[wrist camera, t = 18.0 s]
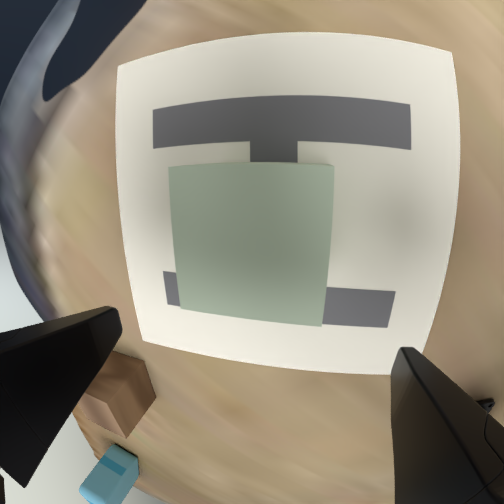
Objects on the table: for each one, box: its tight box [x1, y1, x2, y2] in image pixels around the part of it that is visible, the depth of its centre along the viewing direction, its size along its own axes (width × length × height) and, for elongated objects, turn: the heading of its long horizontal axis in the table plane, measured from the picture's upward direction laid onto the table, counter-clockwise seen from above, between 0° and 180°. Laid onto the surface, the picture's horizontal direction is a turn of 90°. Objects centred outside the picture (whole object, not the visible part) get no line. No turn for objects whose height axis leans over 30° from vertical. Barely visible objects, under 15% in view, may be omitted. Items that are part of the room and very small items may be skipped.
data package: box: [79, 444, 139, 504], centre depth 29 cm, size 12×4×12 cm, turn 163°
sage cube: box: [168, 162, 334, 327], centre depth 12 cm, size 6×6×6 cm
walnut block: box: [78, 351, 156, 439], centre depth 21 cm, size 5×5×6 cm
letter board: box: [116, 32, 460, 374], centre depth 15 cm, size 20×20×1 cm
